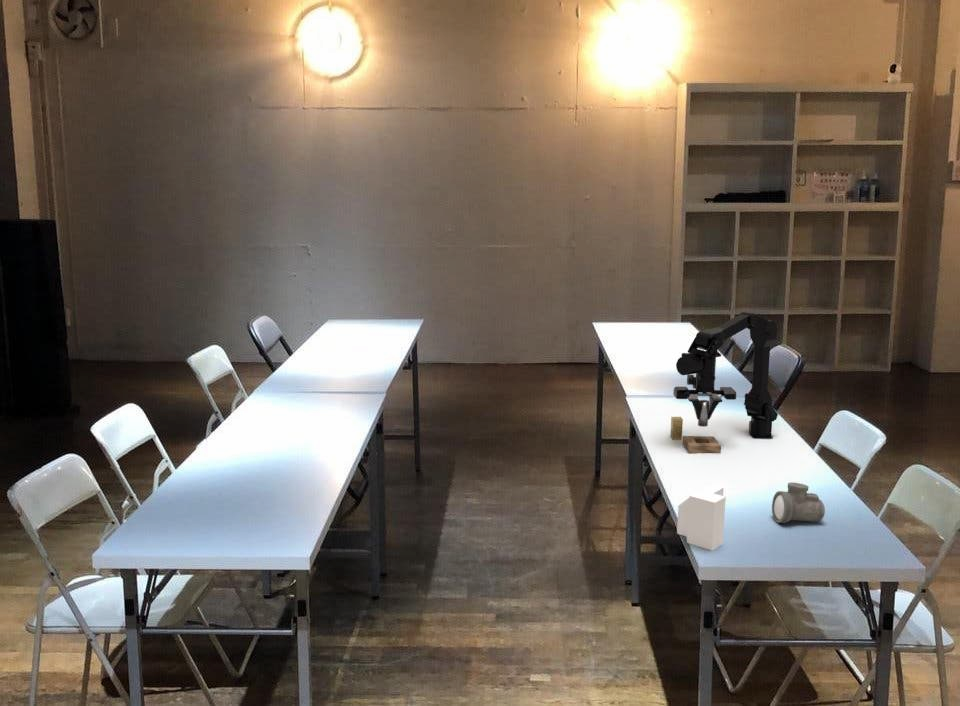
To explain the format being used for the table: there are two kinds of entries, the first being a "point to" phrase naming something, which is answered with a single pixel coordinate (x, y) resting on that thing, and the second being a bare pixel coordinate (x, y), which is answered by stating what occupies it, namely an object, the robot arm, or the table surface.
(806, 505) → the pipe fitting
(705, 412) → the cylinder
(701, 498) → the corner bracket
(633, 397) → the table surface
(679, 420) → the square bit
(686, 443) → the bore block
